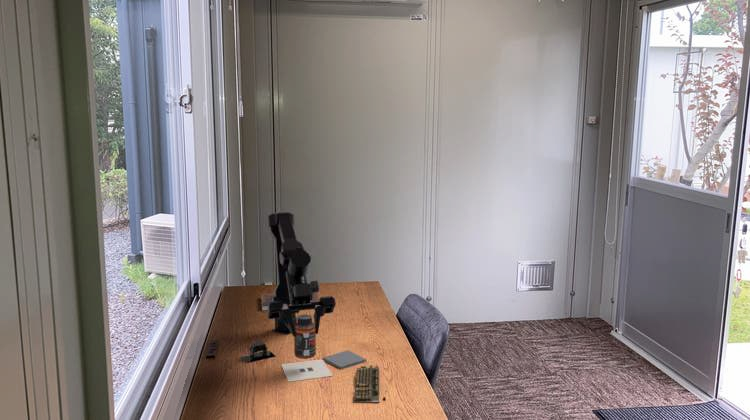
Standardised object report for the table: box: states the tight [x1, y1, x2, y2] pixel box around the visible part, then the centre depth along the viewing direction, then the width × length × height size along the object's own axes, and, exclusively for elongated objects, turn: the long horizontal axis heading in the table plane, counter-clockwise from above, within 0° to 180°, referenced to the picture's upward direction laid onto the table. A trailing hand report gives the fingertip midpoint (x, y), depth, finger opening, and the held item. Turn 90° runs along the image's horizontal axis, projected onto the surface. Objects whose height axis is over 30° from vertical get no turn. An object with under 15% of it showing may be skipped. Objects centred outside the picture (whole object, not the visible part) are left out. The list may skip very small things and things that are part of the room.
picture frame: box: [260, 292, 320, 311], centre depth 233 cm, size 16×2×22 cm
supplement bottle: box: [293, 314, 317, 360], centre depth 169 cm, size 6×6×11 cm
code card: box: [281, 358, 333, 383], centre depth 169 cm, size 12×12×1 cm
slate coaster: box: [322, 350, 367, 370], centre depth 176 cm, size 9×9×1 cm
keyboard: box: [353, 364, 388, 404], centre depth 160 cm, size 22×9×2 cm, turn 179°
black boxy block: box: [239, 341, 277, 364], centre depth 179 cm, size 12×7×5 cm, turn 123°
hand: (306, 335), depth 167 cm, fingers closed on supplement bottle, 6 cm apart
